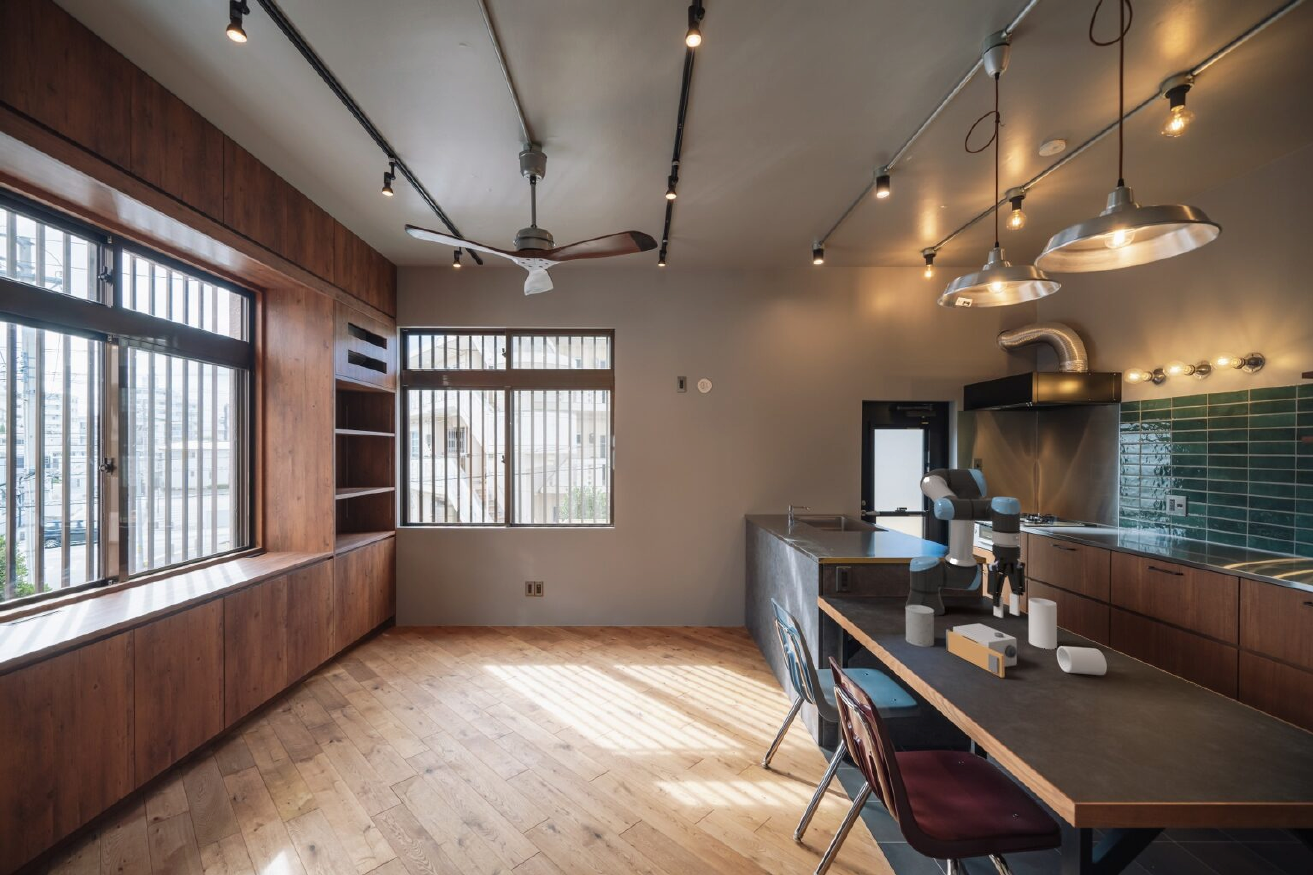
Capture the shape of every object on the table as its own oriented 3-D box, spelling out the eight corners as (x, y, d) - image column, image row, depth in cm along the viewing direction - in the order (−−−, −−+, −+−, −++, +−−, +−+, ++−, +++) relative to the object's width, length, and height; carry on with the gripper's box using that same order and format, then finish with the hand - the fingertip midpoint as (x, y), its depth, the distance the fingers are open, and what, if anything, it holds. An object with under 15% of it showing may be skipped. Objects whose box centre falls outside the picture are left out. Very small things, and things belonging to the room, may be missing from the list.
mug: (1107, 679, 157) (1107, 654, 157) (1071, 676, 159) (1071, 652, 159) (1082, 662, 168) (1082, 639, 168) (1049, 660, 170) (1049, 637, 170)
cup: (1057, 651, 178) (1057, 606, 178) (1028, 645, 182) (1028, 602, 182) (1056, 643, 184) (1056, 600, 184) (1028, 638, 189) (1028, 596, 189)
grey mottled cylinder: (927, 636, 191) (927, 604, 191) (938, 647, 182) (938, 613, 182) (901, 635, 192) (901, 604, 192) (911, 646, 182) (911, 612, 182)
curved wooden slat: (943, 650, 178) (943, 629, 178) (948, 649, 179) (948, 629, 179) (999, 678, 158) (999, 655, 158) (1004, 677, 158) (1004, 654, 158)
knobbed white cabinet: (953, 651, 177) (953, 624, 177) (979, 647, 181) (979, 621, 181) (991, 670, 163) (991, 640, 163) (1019, 665, 166) (1019, 636, 166)
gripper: (993, 549, 155) (994, 622, 155) (1039, 545, 160) (1040, 616, 160) (972, 544, 163) (973, 614, 163) (1017, 540, 168) (1017, 608, 168)
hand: (1006, 615), depth 161 cm, fingers open, 6 cm apart
